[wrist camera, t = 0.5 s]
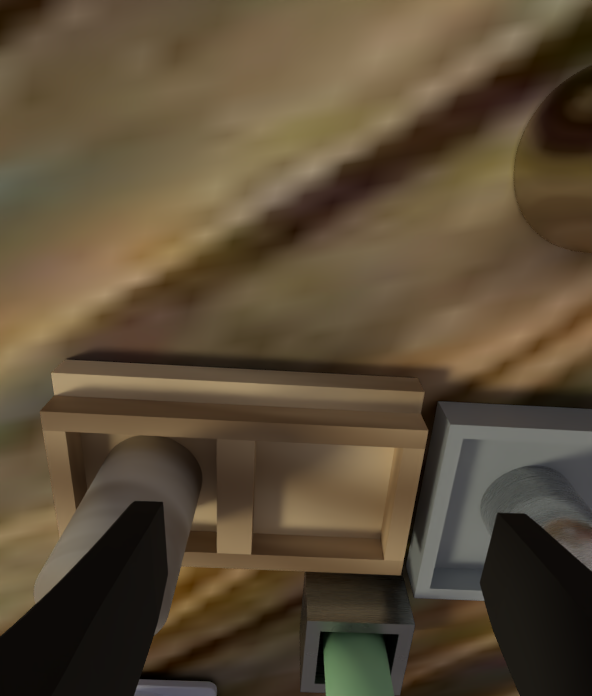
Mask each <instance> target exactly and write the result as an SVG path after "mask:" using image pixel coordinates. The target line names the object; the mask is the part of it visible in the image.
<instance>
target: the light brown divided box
mask: <svg viewBox="0 0 592 696" xmlns="http://www.w3.org/2000/svg"><path fill="white" fill-rule="evenodd" d="M51 375H52V382H53V389H54V396H53V397H52V399H51V400H50V401H49V402H48V403H47V404H46V405H45V406H44V407H43V408H42V410H41V411H40V416H41V422H42V429H43V435H44V441H45V448H46V454H47V460H48V467H49V473H50V479H51V486H52V492H53V498H54V505H55V511H56V517H57V524H58V530H59V536H60V539H59V541H58V542H57V544H56V546H55V548H54V549H53V551H52V553H51V555H50V556H49V558H48V560H47V561H46V563H45V565H44V567H43V568H42V570H41V572H40V574H39V575H38V577H37V579H36V582H35V586H34V600H35V604H36V603H37V602H38V601H39V600H40V599H42V598H43V597H44V596H45V595H46V594H47V593H48V592H49V591H50V590H51V589H52V588H53V587H54V586H55V585H56V584H57V583H58V582H59V581H60V580H61V579H62V578H63V577H64V576H65V575H66V574H67V573H68V572H69V571H70V570H71V569H72V568H73V567H74V566H75V565H76V564H77V563H78V561H79V560H80V559H81V558H82V557H83V556H84V555H85V554H86V553H87V552H88V551H89V550H90V549H91V548H92V547H93V546H94V544H95V543H96V542H97V541H98V540H99V539H100V538H101V537H102V536H103V535H104V533H105V532H106V531H107V530H108V529H109V528H110V527H111V526H112V524H113V523H114V522H115V521H116V520H117V519H118V518H119V517H120V515H121V514H122V513H123V512H124V511H125V510H126V509H127V507H128V506H129V505H130V504H131V503H133V502H134V501H157V502H163V507H164V521H165V535H166V549H167V564H168V577H167V582H166V587H165V592H164V597H163V602H162V606H161V611H160V615H159V620H158V624H157V627H156V630H155V633H154V635H155V634H156V633H158V631H159V630H160V629H161V628H162V627H163V625H164V624H165V622H166V620H167V618H168V614H169V610H170V607H171V603H172V599H173V595H174V591H175V587H176V583H177V580H178V576H179V572H180V568H181V566H186V567H210V568H234V569H259V570H283V571H307V572H331V573H356V574H380V575H401V572H402V566H403V561H404V556H405V551H406V545H407V540H408V535H409V530H410V524H411V519H412V514H413V509H414V503H415V498H416V493H417V488H418V482H419V477H420V472H421V467H422V461H423V456H424V451H425V446H426V440H427V435H428V429H427V427H426V424H425V422H424V420H423V418H422V416H421V409H422V404H423V398H424V393H425V392H424V390H423V388H422V386H421V384H420V382H419V380H418V378H407V377H388V376H369V375H350V374H331V373H312V372H293V371H274V370H255V369H236V368H217V367H198V366H179V365H160V364H141V363H122V362H103V361H84V360H64V361H63V362H62V363H61V364H60V365H59V366H58V367H57V368H56V369H55V370H54V371H53V372H52V373H51Z"/></svg>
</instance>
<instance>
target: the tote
mask: <svg viewBox="0 0 592 696" xmlns="http://www.w3.org/2000/svg"><path fill="white" fill-rule="evenodd" d="M525 466H544V467H548V468H551V469H554V470H556V471H558V472H560V473H561V474H562V475H564V476H565V477H566V478H567V480H568V481H569V482H570V483H571V485H572V486H573V487H574V488H575V490H576V491H577V492H578V494H579V495H580V496H581V497H582V499H583V500H584V501H585V502H586V504H587V505H588V506H589V507H590V509H591V510H592V409H580V408H561V407H541V406H522V405H502V404H483V403H463V402H444V401H438V403H437V408H436V413H435V419H434V424H433V429H432V434H431V439H430V444H429V450H428V455H427V460H426V465H425V470H424V475H423V481H422V486H421V491H420V496H419V501H418V506H417V511H416V517H415V522H414V527H413V532H412V537H411V542H410V548H409V553H408V558H407V563H406V568H407V572H408V576H409V580H410V584H411V588H412V591H413V595H414V598H428V599H453V600H478V601H484V597H483V594H482V590H481V586H480V579H481V575H482V571H483V567H484V563H485V559H486V555H487V551H488V548H489V544H490V540H491V537H490V535H489V533H488V531H487V529H486V527H485V525H484V523H483V521H482V518H481V514H480V504H481V500H482V497H483V495H484V493H485V491H486V490H487V488H488V487H489V486H490V485H491V484H492V483H493V482H494V481H495V480H496V479H497V478H499V477H500V476H502V475H503V474H505V473H507V472H509V471H511V470H514V469H517V468H521V467H525Z"/></svg>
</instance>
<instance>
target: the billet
mask: <svg viewBox="0 0 592 696" xmlns="http://www.w3.org/2000/svg"><path fill="white" fill-rule="evenodd" d="M497 513H525V514H526V515H528V516H529V517H530V518H531V519H533V520H534V521H535V522H536V523H537V524H538V525H540V526H541V527H542V528H543V529H544V530H545V531H547V532H548V533H549V534H550V535H551V536H552V537H553V538H554V539H556V540H557V541H558V542H559V543H560V544H561V545H562V546H564V547H565V548H566V549H567V550H568V551H569V552H570V553H571V554H573V555H574V556H575V557H576V558H577V559H578V560H579V561H580V562H582V563H583V564H584V565H585V566H586V567H587V568H589V569H590V570H591V571H592V510H591V509H590V507H589V506H588V505H587V504H586V502H585V501H584V500H583V499H582V497H581V496H580V495H579V494H578V492H577V491H576V490H575V488H574V487H573V486H572V485H571V483H570V482H569V481H568V480H567V478H566V477H565V476H564V475H562V474H561V473H560V472H558V471H556V470H554V469H551V468H548V467H544V466H525V467H521V468H517V469H514V470H511V471H509V472H507V473H505V474H503V475H502V476H500V477H499V478H497V479H496V480H495V481H494V482H493V483H492V484H491V485H490V486H489V487H488V488H487V490H486V491H485V493H484V495H483V497H482V500H481V504H480V514H481V518H482V521H483V523H484V525H485V527H486V529H487V531H488V533H489V535H490V537H491V536H492V532H493V528H494V524H495V520H496V516H497Z"/></svg>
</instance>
